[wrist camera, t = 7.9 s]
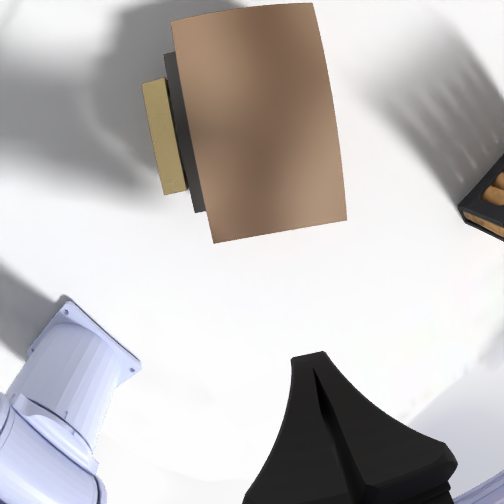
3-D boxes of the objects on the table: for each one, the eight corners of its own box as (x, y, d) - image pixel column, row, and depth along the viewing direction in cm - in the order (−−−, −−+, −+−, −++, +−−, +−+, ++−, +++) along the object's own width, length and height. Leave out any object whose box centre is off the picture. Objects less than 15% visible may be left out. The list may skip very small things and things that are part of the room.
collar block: (211, 212, 19) (202, 245, 14) (180, 54, 15) (158, 25, 10) (316, 194, 19) (347, 220, 14) (290, 36, 15) (312, 2, 10)
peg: (182, 177, 18) (164, 195, 13) (166, 95, 16) (141, 84, 11) (313, 154, 18) (340, 164, 13) (300, 72, 16) (323, 53, 11)
